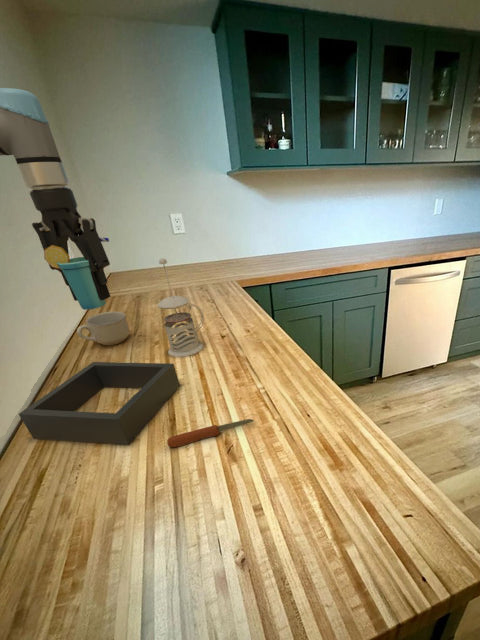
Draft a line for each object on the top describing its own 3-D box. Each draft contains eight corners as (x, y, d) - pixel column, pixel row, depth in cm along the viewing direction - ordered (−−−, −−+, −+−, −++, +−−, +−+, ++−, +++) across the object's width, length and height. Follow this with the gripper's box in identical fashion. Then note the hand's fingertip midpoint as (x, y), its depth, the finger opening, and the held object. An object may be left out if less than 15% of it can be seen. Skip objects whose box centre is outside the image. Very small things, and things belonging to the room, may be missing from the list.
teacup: (127, 331, 111) (119, 308, 107) (137, 340, 104) (129, 316, 100) (81, 345, 104) (70, 320, 100) (88, 356, 96) (76, 330, 92)
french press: (165, 347, 98) (139, 258, 86) (204, 337, 102) (185, 251, 90) (170, 360, 90) (143, 265, 78) (213, 349, 95) (193, 257, 82)
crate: (33, 438, 65) (18, 413, 62) (102, 383, 82) (93, 361, 79) (129, 445, 61) (117, 419, 58) (180, 386, 78) (173, 363, 75)
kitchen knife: (169, 450, 59) (166, 441, 58) (169, 445, 61) (166, 436, 60) (255, 426, 63) (254, 418, 62) (254, 422, 65) (252, 414, 64)
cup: (130, 296, 86) (109, 233, 78) (128, 304, 80) (105, 237, 72) (68, 305, 82) (40, 240, 74) (61, 315, 76) (30, 245, 68)
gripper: (103, 184, 70) (137, 293, 82) (26, 190, 73) (69, 294, 85) (77, 185, 64) (118, 303, 75) (-6, 192, 67) (45, 304, 79)
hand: (92, 298), depth 80 cm, fingers closed on cup, 6 cm apart
